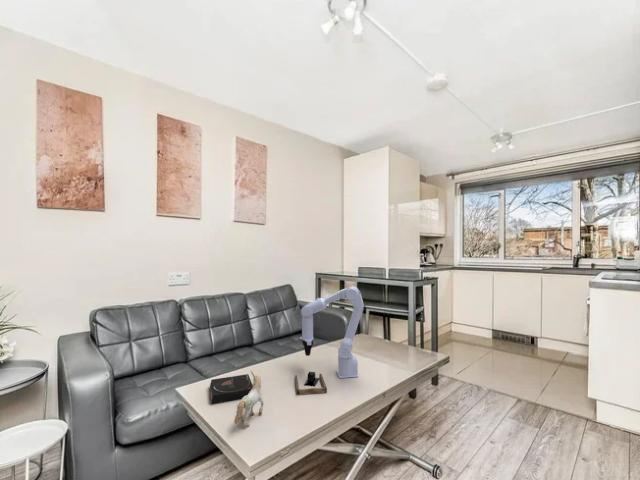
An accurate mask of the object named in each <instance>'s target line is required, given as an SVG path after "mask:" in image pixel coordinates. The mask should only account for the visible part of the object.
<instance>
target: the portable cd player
mask: <svg viewBox="0 0 640 480" xmlns="http://www.w3.org/2000/svg"><path fill="white" fill-rule="evenodd" d="M252 384H253V383H252V380H251V378H250V375H249V373H246V374H240V375H233V376H226V377H220V378H212V379H211V380H210V384H209V391H210V392H209V393H210V403H211V405H218V404H222V403H229V402H234V401H239V400H240V401H241V399H242V398H243V397H244V396H246V395H248V394H249V392H250V391H251V390H252V388H253V385H252Z"/></svg>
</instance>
